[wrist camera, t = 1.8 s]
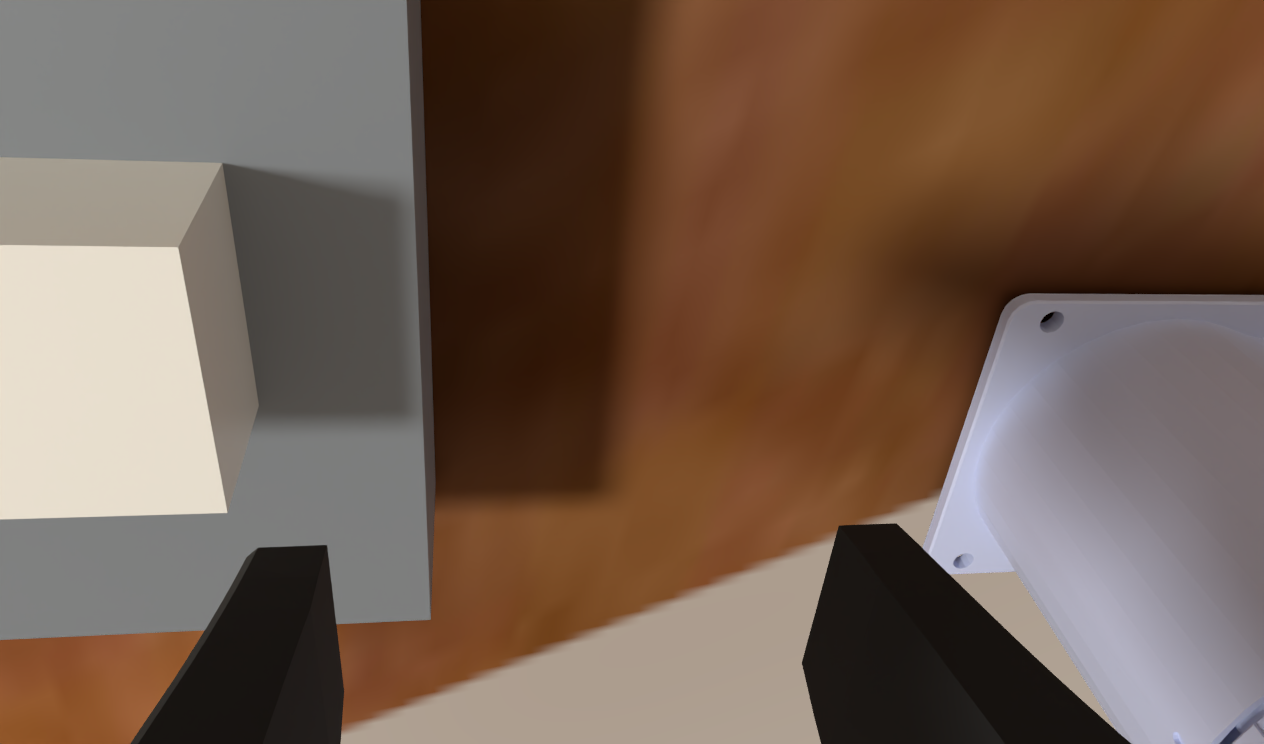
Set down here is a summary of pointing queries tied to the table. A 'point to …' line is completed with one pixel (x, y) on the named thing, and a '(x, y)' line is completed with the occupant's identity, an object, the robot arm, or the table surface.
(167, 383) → the tile
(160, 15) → the grey rectangular block
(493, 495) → the table surface
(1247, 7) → the table surface
